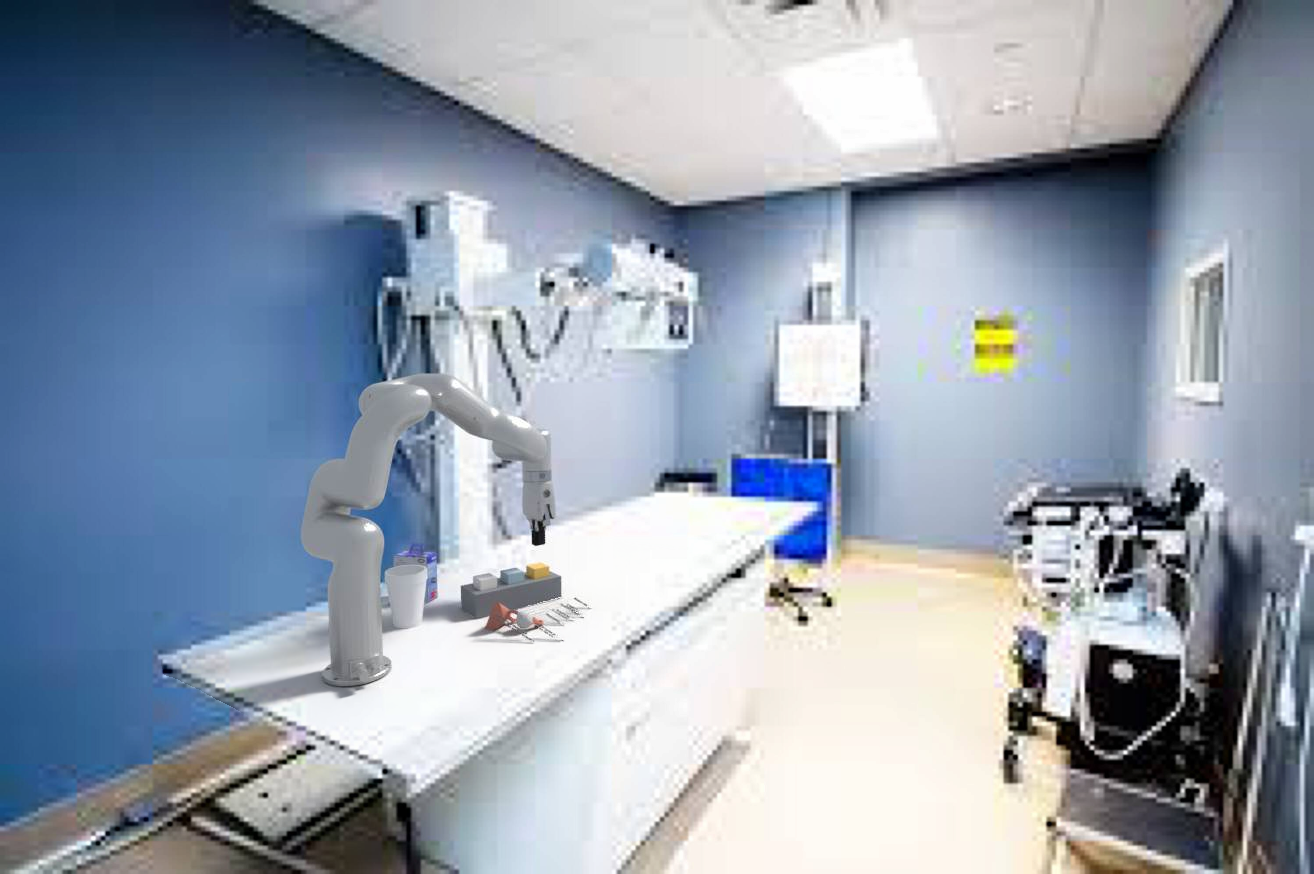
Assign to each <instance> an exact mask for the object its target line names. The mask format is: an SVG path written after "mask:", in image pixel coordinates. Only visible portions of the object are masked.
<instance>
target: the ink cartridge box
mask: <svg viewBox="0 0 1314 874" xmlns="http://www.w3.org/2000/svg"><path fill="white" fill-rule="evenodd" d="M414 547H419V549H418V548H414ZM424 548H425V543H415V542H413V543H411V546H410V549H409V551H408V550H404V551H400V552H399V553H396V554H394V555H393V567H396V566H402V565H422V566H425V567H426V568H427V577H428V579H427V580H426V589H425V598H424V604H426V603H429V602H431V601H433V600H435V599H437V598H438V554H437V552H433V551H432V552H431V551H424Z"/></svg>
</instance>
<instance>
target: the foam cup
mask: <svg viewBox="0 0 1314 874" xmlns="http://www.w3.org/2000/svg"><path fill="white" fill-rule="evenodd" d="M427 579H428V577H427V568H426V567H425V566H422V565H402V566H396V567H394V566H393V567H390V568H387V569H386V570H385V571H384V583H385V585H386V590H387V594H388V595H387V596H388V602H389V607H390V613H391V618H392V623H393V626H394V628H396V629H403V630H405V629H412V628H416V627H418V626H421V624H422V623H423V622H422V621H423V615H424V607H425V603H424V598H425V589H426V580H427Z"/></svg>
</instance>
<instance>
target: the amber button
mask: <svg viewBox="0 0 1314 874" xmlns="http://www.w3.org/2000/svg"><path fill="white" fill-rule="evenodd" d="M525 567H526V576H528V577H530V578H532V579H539V578H544V577H548V576H549V571H550V566H549V565H547V564H545V563H542V562H536V563H531V564H526V565H525Z"/></svg>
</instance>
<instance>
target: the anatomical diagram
mask: <svg viewBox="0 0 1314 874" xmlns="http://www.w3.org/2000/svg"><path fill="white" fill-rule="evenodd" d="M572 599H574V600H575V601H577V602H579V603H580V604H582V605H583V606H586V607H587V605H588V604H586V603H585V602H583V601H581V600H580V599H578V598H577V597H574V598H573V597H572V598H571V599H568V600H566V601H561V602H557V601H555V600H553V601H549V602H546V603H543V604H542V605H538V606H535V607H532V608H529V609H527V610H520V611H519V610H518V609H516V610H509V609H508V608H506V607H505V606H503V605H501V604H500V603H499V602H497V603H496V604H495V603H494V605H493V608H492V611H491V613H490V616H488V619H487V622H486V624H485V628H484V629H485V630H486V629H487V630H491V629H492V631H495V630H498V629H499V628H500V627H501V626H502V625H505V626H506V627H508V628H509V629H510V628H511V630H513V631H515V632H516V633H517V634H519V635H521V636H522V637H524V638H525V639H527V640H529V641H530V640H533V639H532V638H531V637H528V636H527V634H528V632H526V631H525V630H526V629H528V628H529V627H530V626H531V625H535V626H537V627H539V628H538V629H539V630H540V631H541V632H544V634H547V635H548V636H549V637H551V638H553V636H554V637H556V636H555V635H557V634H556V633H554V632H553V631H551V630H550V629H547V628H545V626H544V620H542V619H538V618H536V617H540V616H542V615H543V616H544V615H545V616H547V617H549V618H551V619H552V620H553V621H555V622H557V623H558V622H560V620H558V619H557V618H555V617H553V616H551V615H550V614H549V613H550V612H553V613H555V614H557V615H558V616H560V617H561V618H564V620H568V619H569V618H570V615H568V614H566V613H564V612H563V611H562V610H559V608H561V607H563V608H564V609H567V610H568V611H570V612H571V613H573V614H575V615H576V614H577V615H578V613H576V612H578V610H579V609H578V608H576V607H574V606H572V605H570V604H569V603H566V604H564V603H565V602H568V601H570V600H572ZM553 602H555V603H556V604H554V606H555V605H557V604H558V605H559V606H557V607H554V608H551V609H550V608H549V607H543V608H540V609H537V610H533V609H536V608H538V607H542V606H544V605H548V604H550V603H553ZM545 609H547V610H545ZM530 610H533V611H530ZM541 610H544V611H541ZM527 611H529V612H527ZM537 611H540V612H537ZM535 612H536V613H535ZM531 613H534V614H531ZM512 614H513V615H516V617H515V618H513V617H512V616H511V615H512ZM515 624H516V625H517V626H516V625H515ZM542 624H543V625H542ZM524 629H525V630H524Z"/></svg>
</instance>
